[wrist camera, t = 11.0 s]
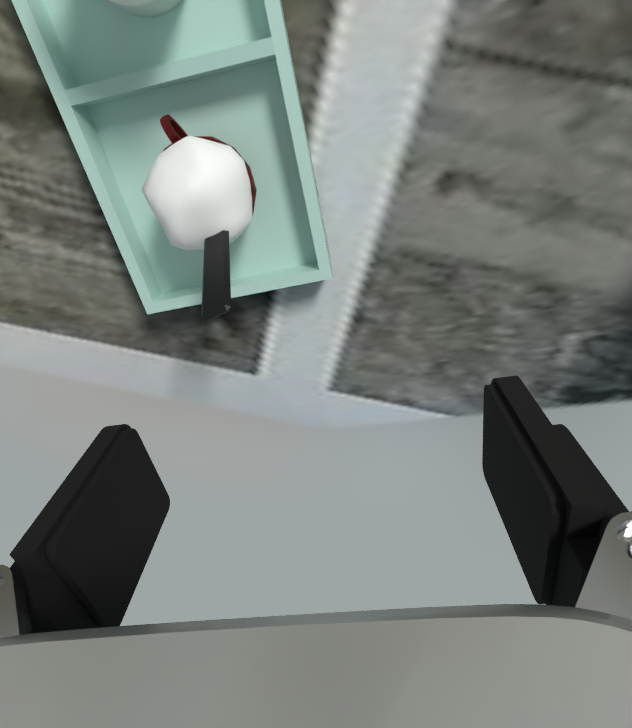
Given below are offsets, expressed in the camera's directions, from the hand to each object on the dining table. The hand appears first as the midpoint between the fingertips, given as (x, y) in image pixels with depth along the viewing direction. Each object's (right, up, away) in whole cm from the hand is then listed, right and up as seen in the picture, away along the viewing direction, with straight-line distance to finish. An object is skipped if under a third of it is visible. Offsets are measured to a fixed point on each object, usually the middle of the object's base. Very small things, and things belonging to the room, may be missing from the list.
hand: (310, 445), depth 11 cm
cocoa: (-7, +14, +18) cm, 24 cm away
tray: (-8, +20, +16) cm, 27 cm away
